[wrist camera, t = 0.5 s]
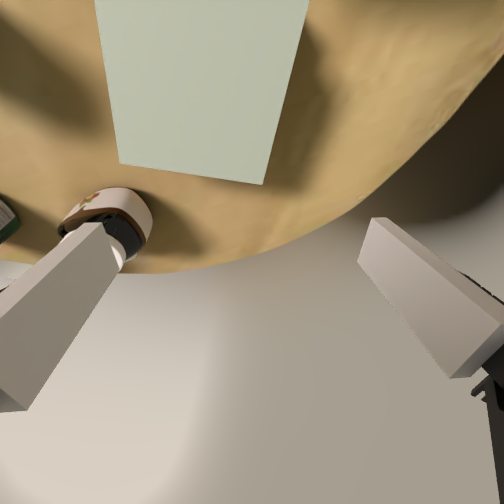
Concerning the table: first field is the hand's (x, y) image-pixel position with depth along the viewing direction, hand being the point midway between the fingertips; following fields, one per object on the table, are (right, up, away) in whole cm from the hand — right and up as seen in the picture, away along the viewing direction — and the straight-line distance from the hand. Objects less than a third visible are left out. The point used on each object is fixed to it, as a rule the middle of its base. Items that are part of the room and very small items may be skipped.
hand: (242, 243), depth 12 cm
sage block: (-4, +16, +11) cm, 20 cm away
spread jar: (-21, +5, +25) cm, 33 cm away
